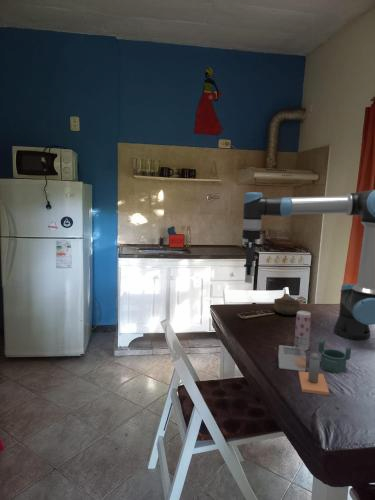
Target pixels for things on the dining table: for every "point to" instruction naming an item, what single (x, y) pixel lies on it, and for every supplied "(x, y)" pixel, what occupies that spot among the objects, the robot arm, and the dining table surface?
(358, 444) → the dining table surface
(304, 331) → the beverage can
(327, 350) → the bracket
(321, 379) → the keeper
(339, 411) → the dining table surface
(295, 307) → the bowl
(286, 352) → the white square sleeve
